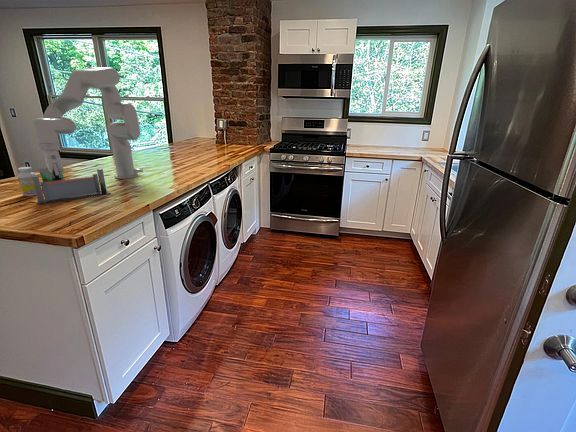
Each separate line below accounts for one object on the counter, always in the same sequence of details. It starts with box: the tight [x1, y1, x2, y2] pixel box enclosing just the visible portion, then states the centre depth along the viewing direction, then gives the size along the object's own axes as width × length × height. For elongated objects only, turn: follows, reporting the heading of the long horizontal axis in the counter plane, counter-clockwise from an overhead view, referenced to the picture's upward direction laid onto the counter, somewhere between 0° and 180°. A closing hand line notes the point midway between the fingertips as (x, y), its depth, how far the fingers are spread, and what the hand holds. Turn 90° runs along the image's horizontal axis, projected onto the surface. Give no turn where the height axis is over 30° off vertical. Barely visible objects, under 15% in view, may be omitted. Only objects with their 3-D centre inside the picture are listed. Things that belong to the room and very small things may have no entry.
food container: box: [37, 165, 65, 182], centre depth 159 cm, size 12×6×10 cm, turn 168°
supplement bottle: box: [17, 166, 37, 197], centre depth 143 cm, size 7×7×13 cm
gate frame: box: [32, 168, 111, 206], centre depth 141 cm, size 28×6×12 cm, turn 134°
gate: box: [39, 173, 101, 201], centre depth 140 cm, size 22×2×9 cm, turn 134°
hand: (58, 186), depth 143 cm, fingers closed
